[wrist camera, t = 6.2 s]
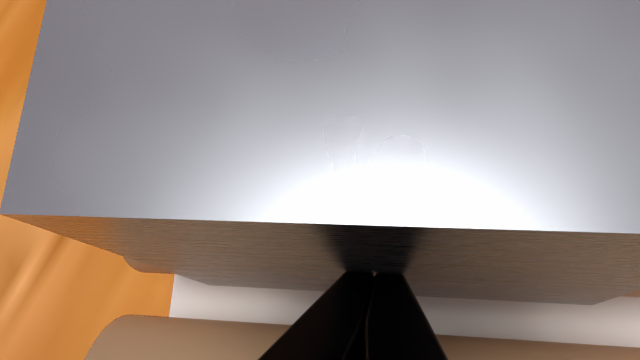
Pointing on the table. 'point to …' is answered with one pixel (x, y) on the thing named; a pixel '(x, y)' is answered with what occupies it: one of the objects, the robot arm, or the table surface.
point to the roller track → (442, 313)
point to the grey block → (343, 142)
